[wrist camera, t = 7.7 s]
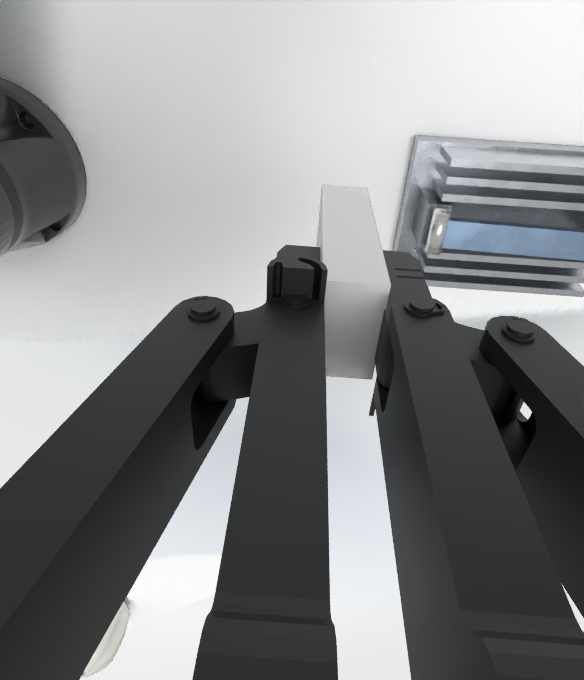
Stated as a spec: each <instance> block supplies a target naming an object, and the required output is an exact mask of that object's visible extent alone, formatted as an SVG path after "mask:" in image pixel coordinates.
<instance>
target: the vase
mask: <svg viewBox="0 0 584 680" xmlns="http://www.w3.org/2000/svg"><path fill="white" fill-rule="evenodd" d="M129 614H130V612H129V610H128V608H127V606H126V603H125V601H124V602H123V603H122V605H121V607H120V609H119V610H118V612H117V614H116V616H115V618H114V619H113V621H112V623H111V625H110V626H109V628H108V630H107V632H106V633H105V635H104V637H103V639H102V640H101V642H100V644H99V646H98V647H97V649H96V651H95V653H94V654H93V656H92V658H91V660H90V661H89V663H88V665H87V667H86V668H85V670H84V672H83V674H82V675H81V677H80V678H82V677H83V678H85V677H88V676H91V675H93V674H95V673H97V672H99V671H101V670H102V669H104V668H106V667H107V666H108V665H109V664H110V662H111V661H112V660H113V658H114V656H115V654H116V652H117V651H118V649H119V646H120V644H121V642H122V639H123V637H124V635H125V631H126V628H127V623H128V620H129Z"/></svg>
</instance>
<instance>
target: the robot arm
mask: <svg viewBox="0 0 584 680" xmlns="http://www.w3.org/2000/svg"><path fill="white" fill-rule="evenodd" d="M85 194H86V176H85V170H84V166H83V162H82V159H81V156H80V153H79V151H78V149H77V146H76V144H75V142H74V140H73V139H72V137H71V135H70V134H69V132H68V130H67V129H66V128H65V126H64V125H63V124H62V122H61V121H60V120H59V119H58V117H57V116H56V115H55V114H54V113H53V112H52V111H51V110H50V109H49V108H48V107H47V106H46V105H45V104H44V103H43V102H41V101H40V100H39V99H38V98H36V97H35V96H34V95H32V94H31V93H29V92H28V91H26V90H25V89H23V88H21V87H20V86H18V85H16V84H14V83H11V82H9V81H7V80H4V79H1V78H0V257H1V256H2V255H3V254H4V253H6V252H7V251H12V250H17V249H22V248H26V247H31V246H36V245H40V244H43V243H46V242H48V241H50V240H52V239H54V238H56V237H57V236H58V235H60V234H61V233H62V232H63V231H64V230H66V229H67V228H68V227H69V226H70V225H71V224H72V223H73V222H74V221H75V220H76V218H77V217H78V215H79V213H80V211H81V209H82V207H83V204H84V200H85ZM375 365H376V371H377V378H376V383H375V388H374V393H373V398H372V402H371V407H370V413H369V415H370V416H373V415H374V411H375V409H376V414H377V421H378V429H379V437H380V444H381V452H382V459H383V467H384V475H385V482H386V490H387V498H388V505H389V512H390V520H391V528H392V536H393V543H394V550H395V557H396V566H397V573H398V581H399V589H400V596H401V604H402V612H403V619H404V627H405V634H406V642H407V650H408V657H409V665H410V672H411V680H584V632H583V631H582V630H581V628H580V626H579V624H578V622H577V620H576V618H575V616H574V613H573V611H572V608H571V606H570V604H569V601H568V599H567V596H566V594H565V592H564V589H563V587H562V585H563V586H564V588H565V589H566V591H567V593H568V594H569V596H570V597H571V599H572V600H573V602H574V603H575V605H576V607H577V608H578V610H579V611H580V613H581V614H582V616H583V618H584V366H583V365H582V364H580V363H579V362H578V361H577V360H576V359H575V358H574V357H573V356H572V355H571V354H570V353H569V352H568V351H567V350H566V349H564V348H563V347H562V346H561V345H560V344H559V343H558V342H557V341H556V340H555V339H554V338H553V337H552V336H551V335H549V334H548V333H547V332H546V331H545V330H543V329H542V328H541V327H539V326H538V325H537V324H535V323H532V322H530V321H528V320H527V319H524V318H518V317H515V316H499V317H494V318H492V319H491V320H489V321H488V322H487V324H486V327H485V330H479V329H476V328H472V327H468V326H464V325H461V324H458V323H456V322H454V320H453V318H452V316H451V313H450V311H449V310H448V308H447V307H446V306H445V305H444V304H443V303H441V302H440V301H438V300H436V299H433V298H432V297H431V294H430V292H429V289H428V286H427V284H426V281H425V279H424V275H423V273H422V272H421V267H420V265H419V262H418V260H417V259H415V258H414V257H413V256H412V255H411V254H409V253H408V252H399V251H384V250H382V246H381V242H380V238H379V234H378V230H377V226H376V222H375V218H374V214H373V210H372V206H371V202H370V198H369V194H368V190H367V188H361V187H346V186H332V185H322V190H321V202H320V213H319V224H318V235H317V246H316V247H308V246H294V245H285V246H284V247H283V248H282V249H281V250H280V251H278V252H277V258H275V259H274V260H272V261H270V263H269V265H268V266H267V300H266V303H265V304H264V305H262V306H261V307H259V308H256V309H253V310H250V311H244V312H237V313H234V310H233V307H232V305H231V304H229V303H228V302H227V301H225V300H222V299H219V298H217V297H208V296H201V297H200V296H198V297H193V298H190V299H187V300H184V301H182V302H181V303H179V304H178V305H176V306H175V307H174V308H173V309H172V310H171V311H170V312H169V313H168V315H167V316H166V317H165V318H164V319H163V320H162V321H161V322H160V323H159V324H158V325H157V326H156V327H155V328H154V329H153V330H152V331H151V332H150V333H149V334H148V335H147V336H146V337H145V338H144V340H143V341H142V342H141V343H140V344H139V345H138V346H137V347H136V348H135V349H134V350H133V351H132V352H131V353H130V354H129V355H128V356H127V357H126V358H125V359H124V360H123V361H122V362H121V364H120V365H119V366H118V367H117V368H116V369H115V370H114V371H113V372H112V373H111V374H110V375H109V376H108V377H107V378H106V379H105V380H104V381H103V382H102V383H101V384H100V385H99V387H97V389H96V390H95V391H94V392H93V393H92V394H91V395H90V396H89V397H88V398H87V399H86V400H85V401H84V402H83V403H82V404H81V405H80V406H79V407H78V408H77V410H75V411H74V412H73V414H72V415H71V416H70V417H69V418H68V419H67V420H66V421H65V422H64V423H63V424H62V425H61V426H60V427H59V428H58V429H57V430H56V431H55V432H54V433H53V434H52V436H50V438H49V439H48V440H47V441H46V442H45V443H44V444H43V445H42V446H41V447H40V448H39V449H38V450H37V451H36V452H35V453H34V454H33V455H32V456H31V457H30V458H29V459H28V460H27V461H26V462H25V464H24V465H23V466H22V467H21V468H20V469H19V470H18V471H17V472H16V473H15V474H14V475H13V476H12V477H11V478H10V479H9V480H8V481H7V482H6V483H5V484H4V485H3V486H2V487H1V489H0V680H79V679H80V677H81V675H82V674H83V672H84V670H85V668H86V667H87V665H88V663H89V661H90V660H91V658H92V656H93V654H94V653H95V651H96V649H97V647H98V646H99V644H100V642H101V640H102V639H103V637H104V635H105V633H106V632H107V630H108V628H109V626H110V625H111V623H112V621H113V619H114V618H115V616H116V614H117V612H118V610H119V609H120V607H121V605H122V603H123V602H124V600H125V598H126V596H127V595H128V593H129V591H130V589H131V588H132V586H133V584H134V582H135V581H136V579H137V577H138V575H139V574H140V572H141V570H142V568H143V567H144V565H145V563H146V561H147V560H148V558H149V556H150V554H151V552H152V551H153V549H154V547H155V545H156V544H157V542H158V540H159V538H160V537H161V535H162V533H163V531H164V530H165V528H166V526H167V524H168V523H169V521H170V519H171V517H172V516H173V514H174V512H175V510H176V509H177V507H178V505H179V503H180V501H181V500H182V498H183V496H184V494H185V493H186V491H187V489H188V487H189V486H190V484H191V482H192V480H193V479H194V477H195V475H196V473H197V472H198V470H199V468H200V466H201V465H202V463H203V461H204V459H205V458H206V456H207V454H208V452H209V451H210V449H211V447H212V445H213V444H214V442H215V440H216V438H217V437H218V435H219V433H220V431H221V430H222V428H223V426H224V424H225V423H226V421H227V419H228V417H229V415H230V414H231V412H232V410H233V408H234V406H235V402H236V399H239V398H244V397H249V403H248V409H247V415H246V421H245V426H244V432H243V438H242V444H241V449H240V455H239V461H238V466H237V473H236V478H235V484H234V490H233V495H232V501H231V507H230V512H229V518H228V524H227V530H226V536H225V541H224V547H223V552H222V558H221V564H220V570H219V575H218V581H217V587H216V593H215V598H214V603H213V606H212V609H211V611H210V613H209V614H208V616H207V617H206V620H205V623H204V627H203V630H202V634H201V639H200V644H199V648H198V653H197V659H196V664H195V669H194V675H193V680H338V668H337V645H336V635H335V627H334V624H333V622H332V620H331V613H330V584H329V582H330V581H329V527H328V473H327V420H326V419H327V418H326V376H331V377H346V378H359V379H372V377H373V372H374V367H375ZM523 402H525V403H526V404H527V406H528V407H529V408H530V409H531V411H532V414H531V416H530V418H529V419H528V420H527V419H526V418H525V417H524V416H523V415H522V413H521V412H520V409H521V406H522V404H523ZM561 583H562V584H561Z"/></svg>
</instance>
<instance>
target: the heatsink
mask: <svg viewBox="0 0 584 680" xmlns="http://www.w3.org/2000/svg"><path fill="white" fill-rule="evenodd" d="M436 208H443V209H447V210H450V211H451V212H452V213H451V218H463V219H474V220H485V221H497V222H508V223H520V224H531V225H543V226H554V227H565V228H577V229H584V147H583V146H568V145H553V144H539V143H524V142H509V141H494V140H480V139H465V138H450V137H435V136H421V135H415V138H414V143H413V148H412V153H411V158H410V164H409V169H408V174H407V179H406V184H405V189H404V195H403V200H402V205H401V210H400V215H399V220H398V225H397V231H396V236H395V241H394V246H393V251H399V252H408V253H409V254H411V255H412V256H413V257H414V258H415V259H417V260H418V262H419V265H420V267H421V272H422V273H423V275H424V279H425V281H426V284H427V286H435V287H449V288H463V289H477V290H491V291H506V292H520V293H534V294H548V295H562V296H576V297H583V296H584V289H583V288H582V287H581V286H580V285H579V283H584V261H581V260H570V259H559V258H548V257H537V256H526V255H515V254H504V253H493V252H482V251H471V250H460V249H449V248H442V251H441V254H440V255H430V254H427V253H426V252H425V246H426V242H427V238H428V234H429V229H430V225H431V221H432V217H433V212H434V209H436Z"/></svg>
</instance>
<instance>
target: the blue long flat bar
mask: <svg viewBox="0 0 584 680" xmlns="http://www.w3.org/2000/svg"><path fill="white" fill-rule="evenodd" d="M451 213H452V212H451V211H450V210H447V209H443V208H436V209H434V212H433V217H432V221H431V225H430V229H429V234H428V238H427V242H426V246H425V252H426V253H427V254H430V255H440V254H441V251H442V248H449V249H460V250H471V251H482V252H493V253H504V254H515V255H526V256H537V257H548V258H559V259H570V260H581V261H584V229H577V228H565V227H554V226H543V225H531V224H520V223H508V222H497V221H485V220H474V219H463V218H451Z"/></svg>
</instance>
